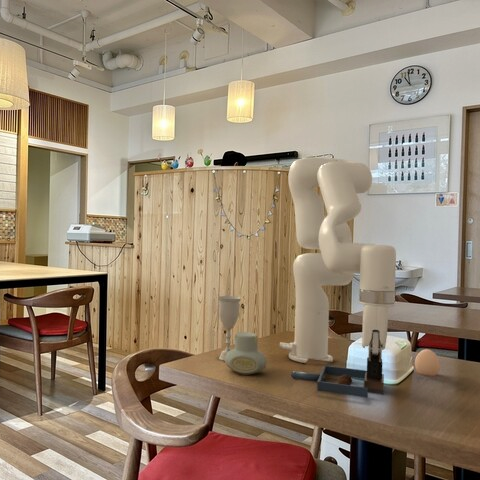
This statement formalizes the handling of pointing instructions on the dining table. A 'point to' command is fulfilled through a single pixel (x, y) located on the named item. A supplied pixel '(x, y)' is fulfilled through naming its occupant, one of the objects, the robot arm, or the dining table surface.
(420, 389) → the dining table surface
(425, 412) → the dining table surface
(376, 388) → the wooden stamp
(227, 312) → the chalice
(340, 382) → the crumb
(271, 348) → the dining table surface
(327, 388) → the dustpan
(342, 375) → the crumb
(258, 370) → the air freshener
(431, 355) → the egg
